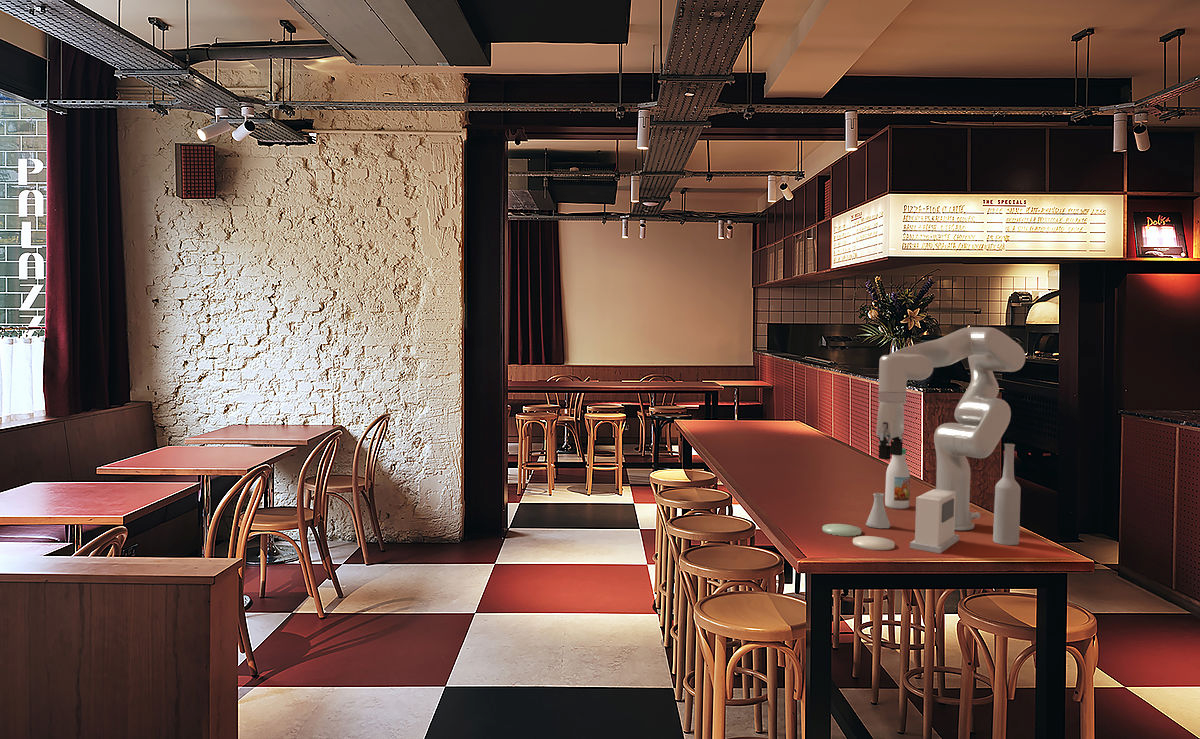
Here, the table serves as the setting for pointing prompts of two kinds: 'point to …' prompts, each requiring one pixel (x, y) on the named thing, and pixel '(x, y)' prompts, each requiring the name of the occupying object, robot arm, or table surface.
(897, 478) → the milk bottle
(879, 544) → the cream pad
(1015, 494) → the bottle
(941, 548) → the control unit
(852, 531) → the green pad
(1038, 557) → the table surface
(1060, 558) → the table surface
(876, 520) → the flask
